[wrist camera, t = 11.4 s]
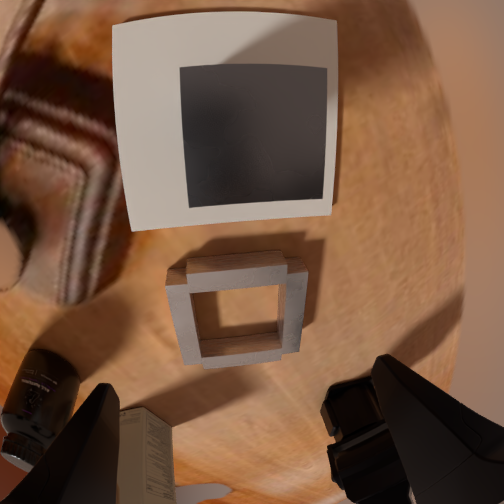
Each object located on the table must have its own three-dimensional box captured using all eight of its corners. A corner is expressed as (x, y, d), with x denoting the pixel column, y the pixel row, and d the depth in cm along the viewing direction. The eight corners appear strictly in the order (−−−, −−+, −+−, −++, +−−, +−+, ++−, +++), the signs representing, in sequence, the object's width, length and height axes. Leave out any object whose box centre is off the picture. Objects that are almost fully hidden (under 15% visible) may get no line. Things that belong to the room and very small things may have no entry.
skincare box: (115, 410, 28) (107, 503, 18) (144, 404, 28) (140, 505, 17) (147, 433, 31) (146, 516, 21) (174, 428, 31) (178, 516, 21)
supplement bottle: (53, 341, 22) (17, 451, 12) (93, 385, 26) (76, 486, 15) (14, 351, 22) (-22, 443, 12) (51, 390, 26) (30, 478, 15)
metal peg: (264, 82, 15) (327, 68, 7) (264, 149, 17) (322, 199, 9) (191, 85, 14) (179, 67, 6) (195, 153, 16) (188, 207, 8)
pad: (331, 23, 14) (336, 20, 13) (326, 210, 20) (331, 215, 19) (116, 28, 12) (112, 25, 11) (134, 226, 18) (131, 231, 18)
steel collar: (300, 247, 21) (309, 262, 19) (292, 341, 26) (298, 357, 24) (165, 260, 20) (163, 276, 18) (186, 353, 25) (186, 370, 23)
